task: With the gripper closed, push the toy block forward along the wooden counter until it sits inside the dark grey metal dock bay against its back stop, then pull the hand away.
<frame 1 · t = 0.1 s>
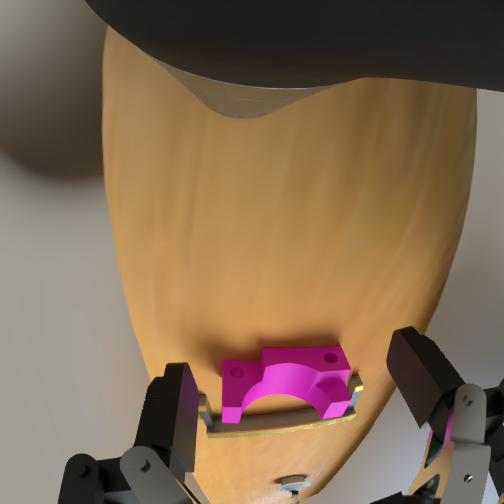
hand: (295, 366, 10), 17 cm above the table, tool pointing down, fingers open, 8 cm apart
toy block: (280, 361, 34), on the table
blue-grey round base: (292, 478, 59), on the table
dock: (280, 406, 38), on the table
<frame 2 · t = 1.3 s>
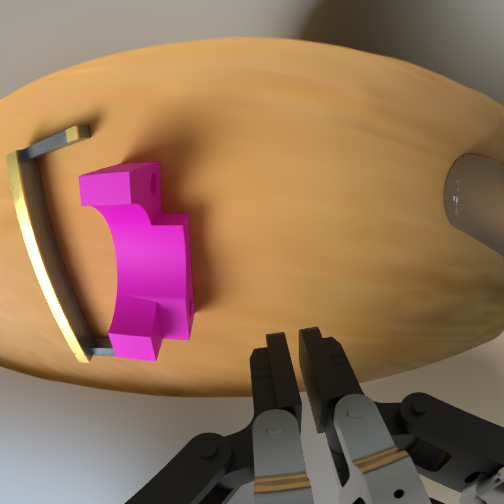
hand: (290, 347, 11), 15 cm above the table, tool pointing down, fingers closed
toy block: (158, 242, 25), on the table
dock: (74, 254, 24), on the table
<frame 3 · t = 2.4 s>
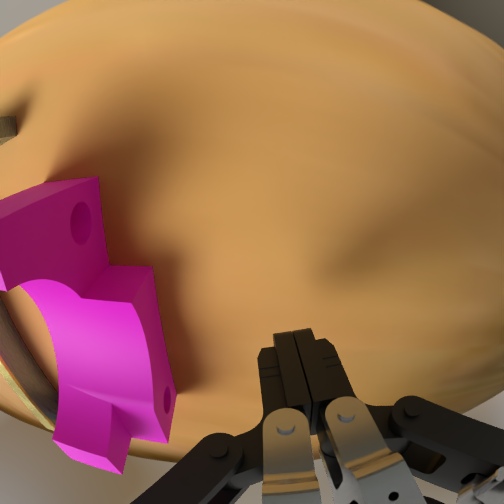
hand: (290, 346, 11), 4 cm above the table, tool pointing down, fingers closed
toy block: (112, 304, 15), on the table
dock: (17, 306, 14), on the table
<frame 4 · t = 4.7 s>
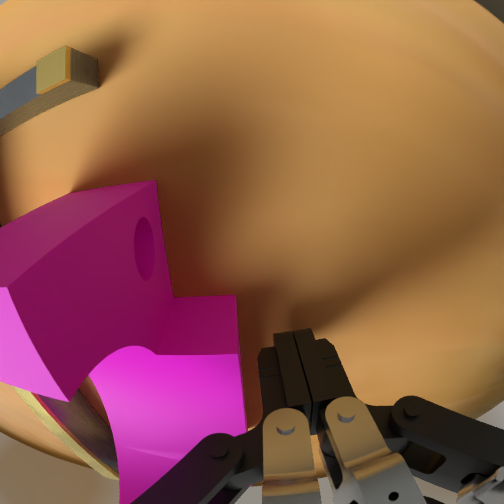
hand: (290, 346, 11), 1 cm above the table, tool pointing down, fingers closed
toy block: (173, 343, 12), on the table, touching gripper
dock: (73, 342, 11), on the table
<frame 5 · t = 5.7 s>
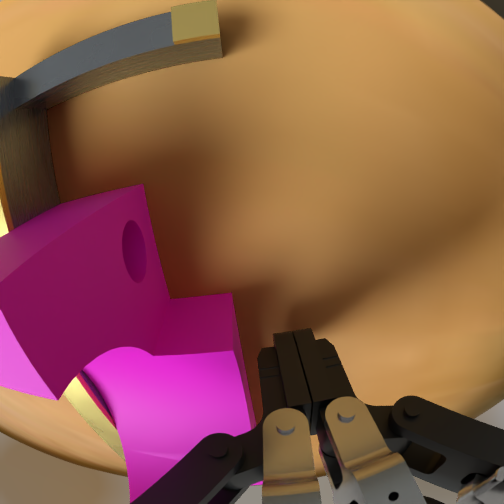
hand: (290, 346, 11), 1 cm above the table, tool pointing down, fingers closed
toy block: (175, 345, 12), on the table
dock: (147, 342, 12), on the table
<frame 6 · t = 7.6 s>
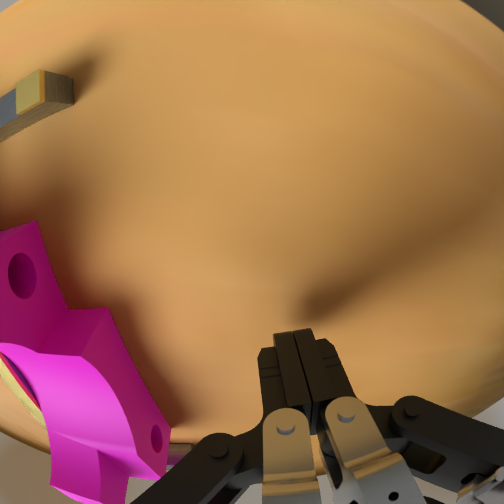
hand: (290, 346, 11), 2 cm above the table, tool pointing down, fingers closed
toy block: (83, 348, 13), on the table
dock: (59, 339, 12), on the table
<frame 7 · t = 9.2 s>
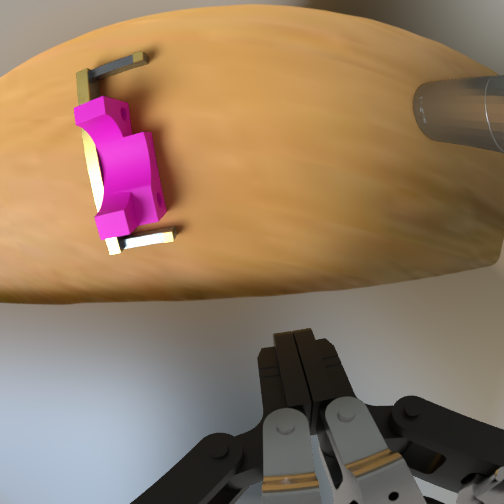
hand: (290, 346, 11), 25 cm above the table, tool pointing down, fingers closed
toy block: (133, 159, 31), on the table
dock: (122, 152, 30), on the table
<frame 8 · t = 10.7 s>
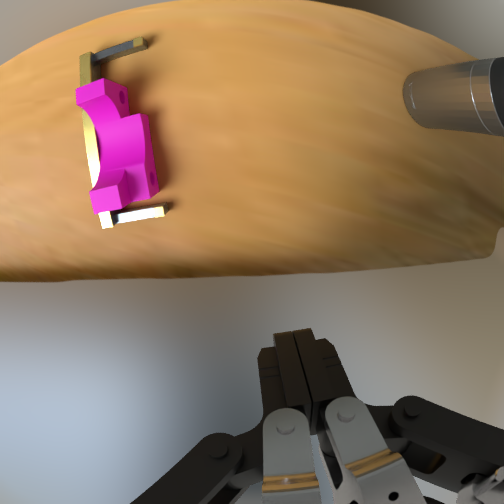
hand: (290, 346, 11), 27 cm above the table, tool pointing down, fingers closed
toy block: (129, 141, 32), on the table
dock: (119, 131, 30), on the table
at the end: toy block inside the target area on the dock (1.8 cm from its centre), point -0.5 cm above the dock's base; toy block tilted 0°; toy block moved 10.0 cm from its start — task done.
